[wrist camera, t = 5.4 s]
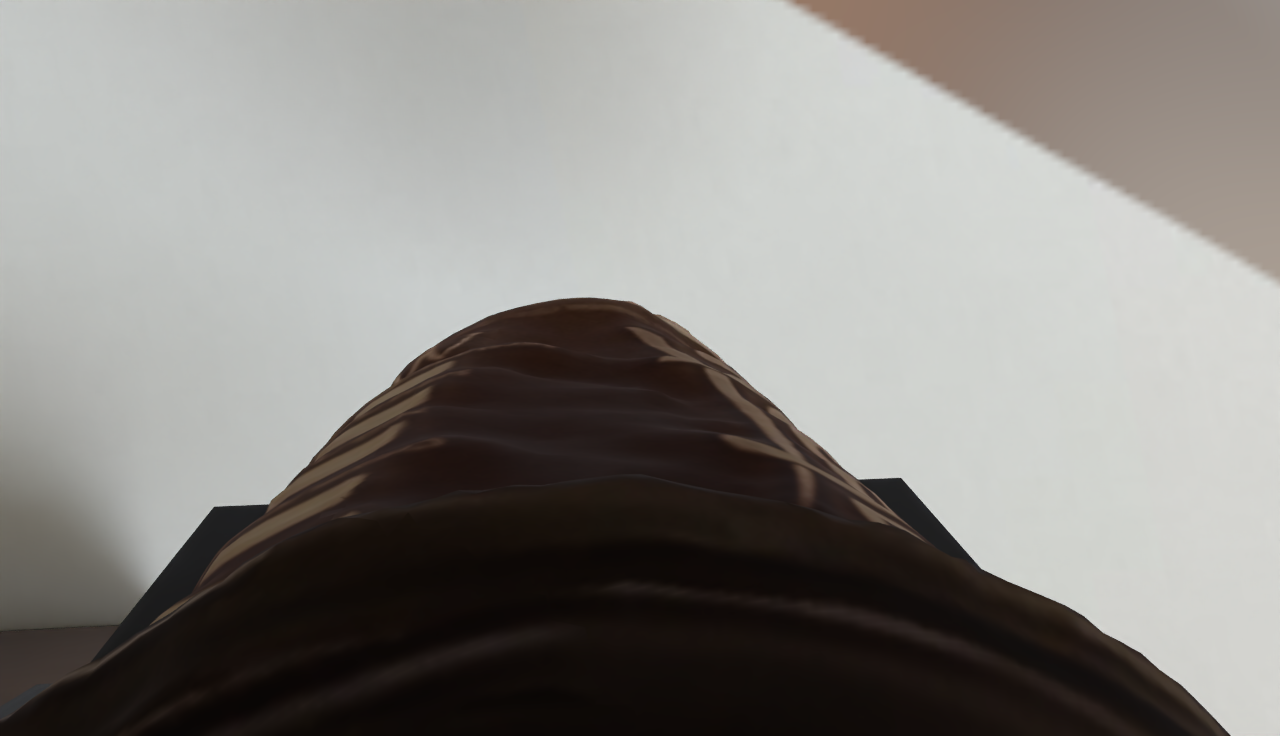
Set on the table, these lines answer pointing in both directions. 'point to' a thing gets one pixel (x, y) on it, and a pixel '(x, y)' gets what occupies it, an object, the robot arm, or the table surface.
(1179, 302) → the table surface
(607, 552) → the coffee cup
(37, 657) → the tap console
